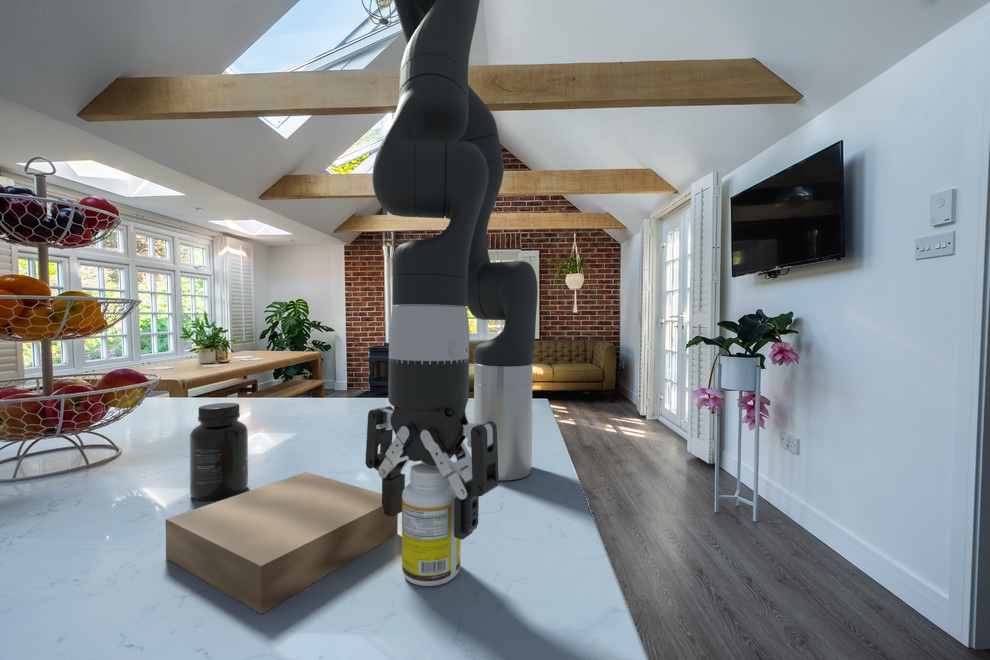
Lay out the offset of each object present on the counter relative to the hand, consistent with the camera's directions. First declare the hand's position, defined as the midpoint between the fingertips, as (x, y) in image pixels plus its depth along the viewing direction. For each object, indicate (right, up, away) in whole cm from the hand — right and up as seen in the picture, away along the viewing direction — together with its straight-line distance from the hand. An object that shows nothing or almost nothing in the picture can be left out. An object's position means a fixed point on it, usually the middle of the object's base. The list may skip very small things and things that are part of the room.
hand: (427, 523), depth 42 cm
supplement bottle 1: (-32, -4, +19) cm, 37 cm away
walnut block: (-15, -4, +5) cm, 17 cm away
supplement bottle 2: (0, -5, 0) cm, 5 cm away
